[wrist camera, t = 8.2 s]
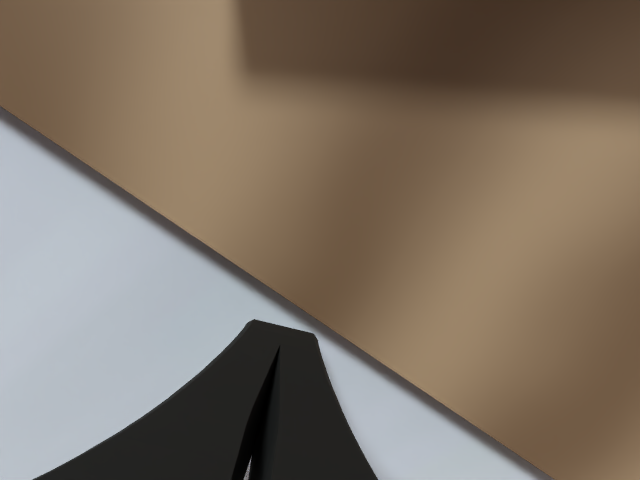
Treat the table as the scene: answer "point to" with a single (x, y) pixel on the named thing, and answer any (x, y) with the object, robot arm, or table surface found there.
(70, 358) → the table surface
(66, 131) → the stool board
